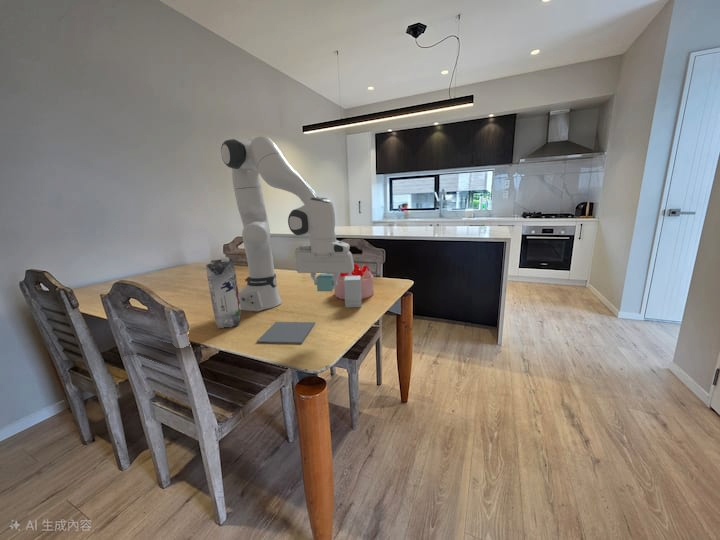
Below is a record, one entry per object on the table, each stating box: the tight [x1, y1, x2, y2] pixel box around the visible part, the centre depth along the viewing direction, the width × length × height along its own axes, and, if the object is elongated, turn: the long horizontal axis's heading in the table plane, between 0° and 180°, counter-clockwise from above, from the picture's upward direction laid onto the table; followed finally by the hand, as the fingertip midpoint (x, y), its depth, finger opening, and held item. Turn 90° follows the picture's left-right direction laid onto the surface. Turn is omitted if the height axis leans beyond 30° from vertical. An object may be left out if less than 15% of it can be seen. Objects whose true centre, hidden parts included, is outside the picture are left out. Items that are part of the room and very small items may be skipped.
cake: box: [333, 263, 375, 301], centre depth 143 cm, size 20×20×14 cm
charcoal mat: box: [256, 321, 316, 345], centre depth 104 cm, size 16×16×1 cm
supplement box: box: [344, 276, 363, 308], centre depth 128 cm, size 7×7×13 cm
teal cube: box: [316, 273, 335, 292], centre depth 101 cm, size 5×5×5 cm
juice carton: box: [205, 256, 242, 329], centre depth 112 cm, size 9×10×27 cm
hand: (326, 284), depth 101 cm, fingers closed on teal cube, 5 cm apart
